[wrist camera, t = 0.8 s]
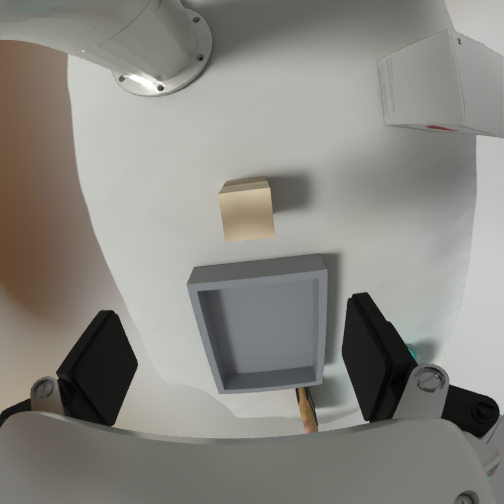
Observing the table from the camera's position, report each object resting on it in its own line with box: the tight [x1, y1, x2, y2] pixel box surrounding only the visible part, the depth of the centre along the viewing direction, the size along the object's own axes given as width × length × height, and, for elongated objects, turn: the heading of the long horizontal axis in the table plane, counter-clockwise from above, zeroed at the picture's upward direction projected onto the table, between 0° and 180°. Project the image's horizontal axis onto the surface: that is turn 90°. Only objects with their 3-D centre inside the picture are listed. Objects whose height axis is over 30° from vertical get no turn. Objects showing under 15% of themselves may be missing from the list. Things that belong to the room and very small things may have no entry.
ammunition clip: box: [296, 386, 318, 434], centre depth 39 cm, size 11×2×12 cm, turn 19°
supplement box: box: [378, 29, 504, 138], centre depth 19 cm, size 9×9×15 cm
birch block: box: [218, 177, 275, 242], centre depth 28 cm, size 4×4×8 cm
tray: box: [187, 254, 328, 394], centre depth 36 cm, size 20×16×4 cm
